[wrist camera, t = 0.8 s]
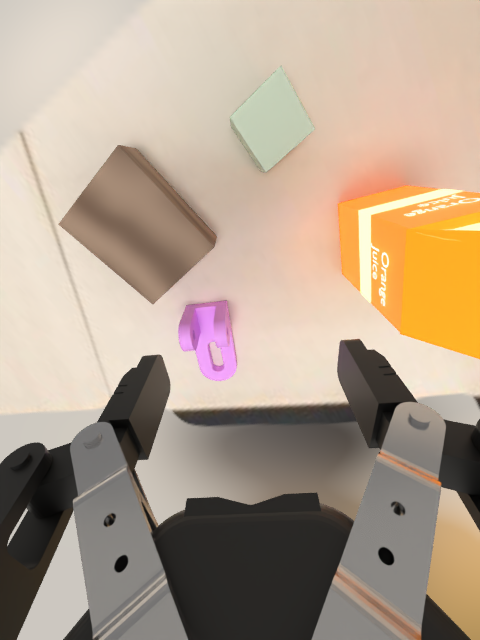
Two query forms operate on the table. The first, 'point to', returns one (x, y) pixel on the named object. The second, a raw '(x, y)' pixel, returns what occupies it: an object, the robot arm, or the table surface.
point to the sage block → (271, 121)
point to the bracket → (209, 337)
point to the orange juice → (418, 261)
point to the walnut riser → (138, 224)
